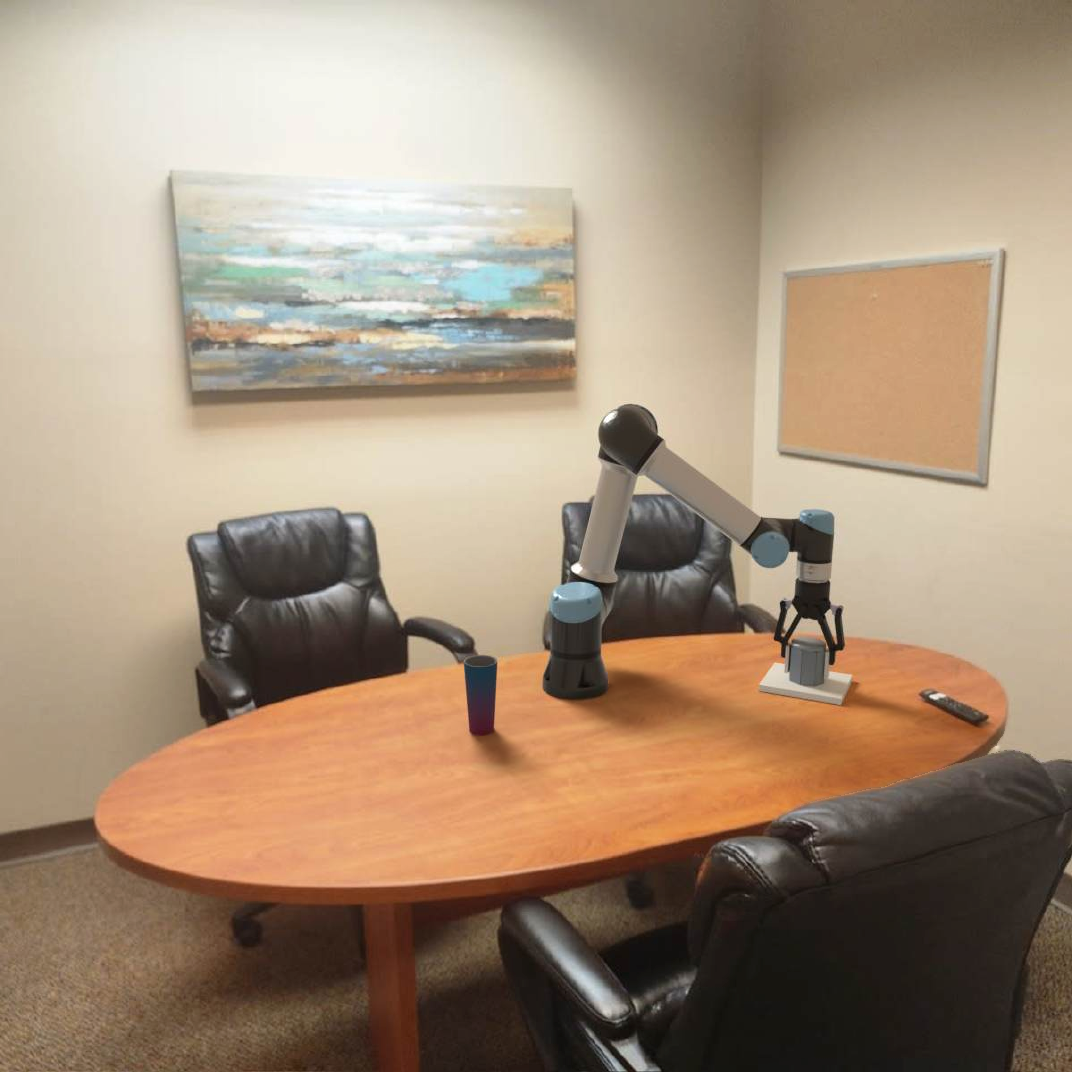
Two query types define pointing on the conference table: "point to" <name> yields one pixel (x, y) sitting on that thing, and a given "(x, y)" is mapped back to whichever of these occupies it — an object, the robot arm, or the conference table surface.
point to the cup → (481, 692)
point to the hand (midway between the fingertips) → (806, 674)
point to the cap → (807, 661)
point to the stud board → (826, 692)
